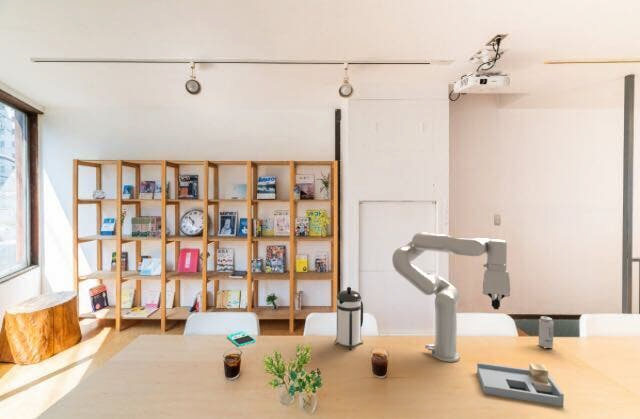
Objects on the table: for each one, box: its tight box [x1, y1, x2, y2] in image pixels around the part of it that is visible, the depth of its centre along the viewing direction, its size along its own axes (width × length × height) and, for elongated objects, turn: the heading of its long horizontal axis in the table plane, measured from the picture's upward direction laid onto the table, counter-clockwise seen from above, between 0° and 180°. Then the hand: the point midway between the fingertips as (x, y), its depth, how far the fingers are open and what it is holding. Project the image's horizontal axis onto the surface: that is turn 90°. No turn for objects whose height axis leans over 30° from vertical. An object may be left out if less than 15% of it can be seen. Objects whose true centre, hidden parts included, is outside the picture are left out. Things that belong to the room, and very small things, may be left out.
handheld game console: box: [227, 330, 257, 347], centre depth 172 cm, size 10×16×1 cm, turn 39°
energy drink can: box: [538, 315, 554, 349], centre depth 164 cm, size 6×6×15 cm
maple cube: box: [528, 362, 549, 384], centre depth 129 cm, size 5×5×5 cm
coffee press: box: [333, 286, 364, 351], centre depth 167 cm, size 17×16×30 cm
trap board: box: [476, 361, 565, 407], centre depth 128 cm, size 26×16×4 cm, turn 73°
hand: (495, 308), depth 142 cm, fingers closed
